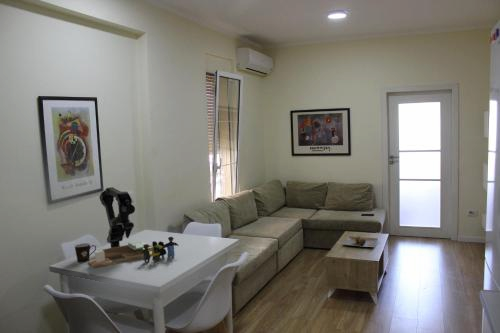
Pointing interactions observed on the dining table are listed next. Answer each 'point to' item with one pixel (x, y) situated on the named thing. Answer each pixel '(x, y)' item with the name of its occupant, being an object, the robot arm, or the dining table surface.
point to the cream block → (99, 256)
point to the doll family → (159, 250)
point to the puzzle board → (118, 256)
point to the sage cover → (138, 245)
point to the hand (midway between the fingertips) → (125, 236)
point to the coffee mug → (83, 252)
